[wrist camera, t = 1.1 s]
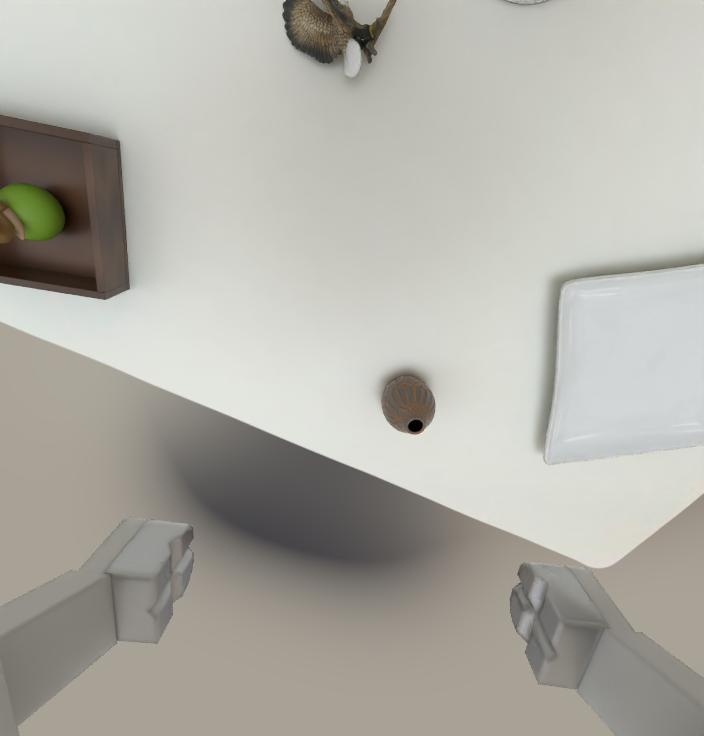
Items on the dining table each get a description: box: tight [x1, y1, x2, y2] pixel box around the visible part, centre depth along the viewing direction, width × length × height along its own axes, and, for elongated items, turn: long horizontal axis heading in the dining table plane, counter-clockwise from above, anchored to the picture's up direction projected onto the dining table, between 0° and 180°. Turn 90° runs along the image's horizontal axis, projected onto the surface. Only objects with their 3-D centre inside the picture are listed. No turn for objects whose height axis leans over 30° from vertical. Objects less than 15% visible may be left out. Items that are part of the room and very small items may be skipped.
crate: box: [0, 115, 129, 300], centre depth 38 cm, size 16×16×5 cm
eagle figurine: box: [283, 0, 396, 78], centre depth 32 cm, size 8×7×9 cm
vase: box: [382, 376, 435, 434], centre depth 48 cm, size 7×7×9 cm
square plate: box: [543, 263, 704, 465], centre depth 49 cm, size 27×27×4 cm
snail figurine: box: [0, 183, 65, 243], centre depth 34 cm, size 5×6×12 cm
